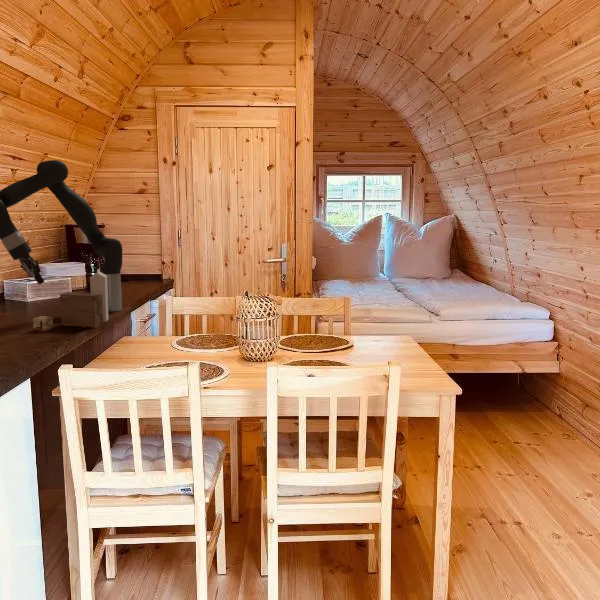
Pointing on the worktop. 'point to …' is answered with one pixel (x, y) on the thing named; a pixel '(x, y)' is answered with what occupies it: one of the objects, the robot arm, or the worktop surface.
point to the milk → (100, 290)
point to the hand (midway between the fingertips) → (41, 283)
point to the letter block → (42, 322)
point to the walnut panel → (81, 309)
